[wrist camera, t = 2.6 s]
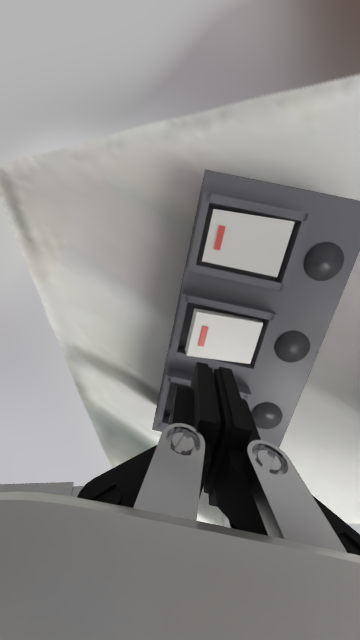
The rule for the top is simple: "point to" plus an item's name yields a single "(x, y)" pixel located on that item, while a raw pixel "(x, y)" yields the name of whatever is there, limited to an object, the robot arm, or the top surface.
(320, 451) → the top surface
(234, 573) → the robot arm
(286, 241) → the rocker
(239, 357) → the middle rocker
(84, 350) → the top surface
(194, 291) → the rocker switch panel
